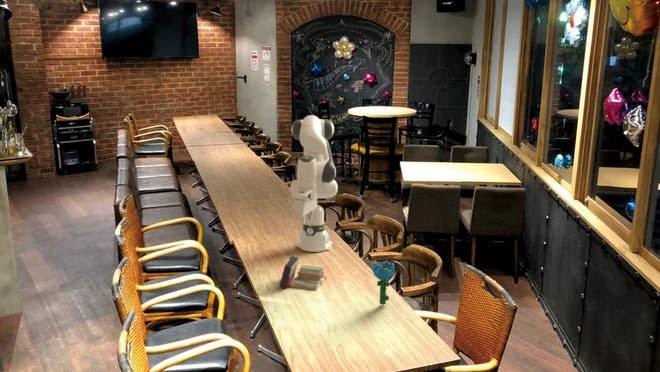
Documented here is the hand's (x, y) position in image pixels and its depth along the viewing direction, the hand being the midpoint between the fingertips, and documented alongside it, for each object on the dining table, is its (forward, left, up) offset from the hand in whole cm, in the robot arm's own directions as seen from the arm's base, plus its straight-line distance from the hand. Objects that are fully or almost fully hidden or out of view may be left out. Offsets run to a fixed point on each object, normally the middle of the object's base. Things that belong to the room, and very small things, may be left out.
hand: (306, 222), depth 271 cm
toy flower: (+9, +39, -31) cm, 50 cm away
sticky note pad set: (-3, 0, -31) cm, 31 cm away
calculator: (+8, -7, -25) cm, 27 cm away
